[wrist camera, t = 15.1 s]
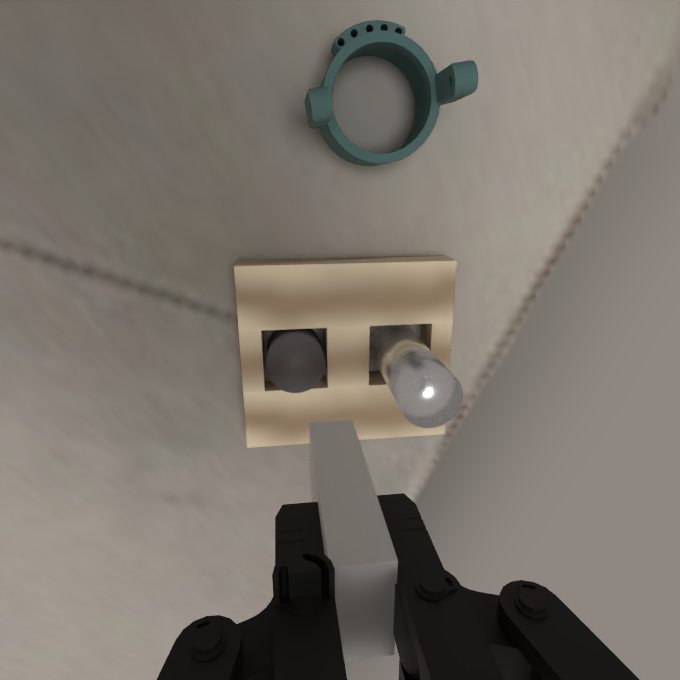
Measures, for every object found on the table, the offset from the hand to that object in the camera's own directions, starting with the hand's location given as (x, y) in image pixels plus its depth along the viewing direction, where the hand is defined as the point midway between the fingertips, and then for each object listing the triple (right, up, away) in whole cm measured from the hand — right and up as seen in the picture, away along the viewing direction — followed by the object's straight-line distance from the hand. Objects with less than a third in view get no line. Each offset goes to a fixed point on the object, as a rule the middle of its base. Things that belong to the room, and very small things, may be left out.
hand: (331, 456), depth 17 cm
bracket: (+3, +23, +21) cm, 31 cm away
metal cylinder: (+5, +4, +28) cm, 28 cm away
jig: (+1, +3, +27) cm, 27 cm away
